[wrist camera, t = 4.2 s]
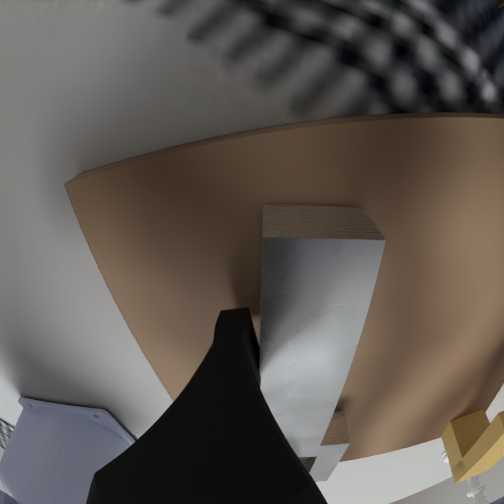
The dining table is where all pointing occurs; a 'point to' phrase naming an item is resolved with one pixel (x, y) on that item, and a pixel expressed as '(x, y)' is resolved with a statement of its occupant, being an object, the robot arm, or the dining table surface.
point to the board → (321, 194)
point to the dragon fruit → (500, 3)
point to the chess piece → (473, 486)
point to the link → (314, 320)
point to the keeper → (473, 444)
